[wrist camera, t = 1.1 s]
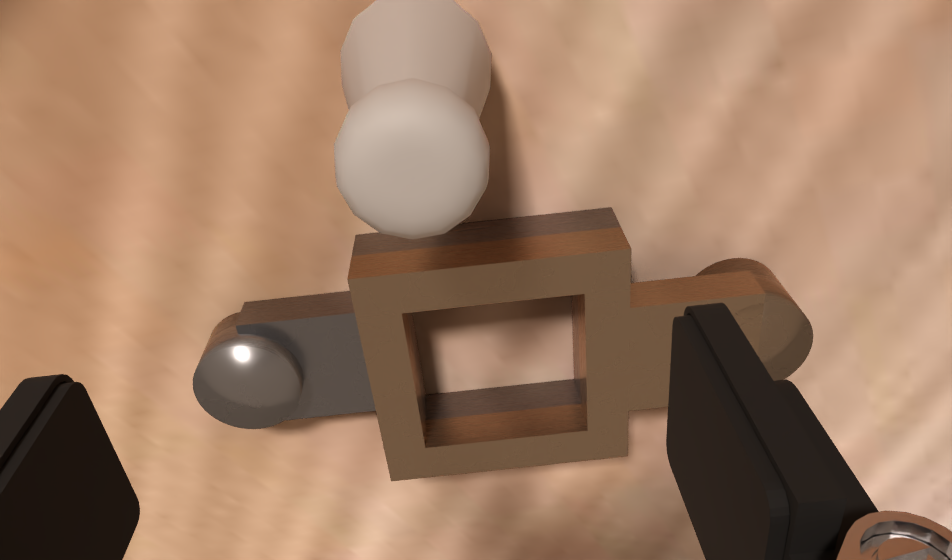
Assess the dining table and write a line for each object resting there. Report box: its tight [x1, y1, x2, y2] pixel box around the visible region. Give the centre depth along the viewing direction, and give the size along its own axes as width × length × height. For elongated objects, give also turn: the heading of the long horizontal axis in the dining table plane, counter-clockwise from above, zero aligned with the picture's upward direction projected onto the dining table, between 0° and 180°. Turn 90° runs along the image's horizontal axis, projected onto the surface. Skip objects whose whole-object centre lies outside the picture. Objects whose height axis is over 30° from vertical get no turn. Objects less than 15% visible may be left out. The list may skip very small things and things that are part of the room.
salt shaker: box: [334, 0, 492, 240], centre depth 25 cm, size 6×6×13 cm
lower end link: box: [193, 208, 621, 429], centre depth 37 cm, size 20×12×3 cm, turn 95°
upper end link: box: [348, 227, 813, 481], centre depth 36 cm, size 20×12×4 cm, turn 95°
